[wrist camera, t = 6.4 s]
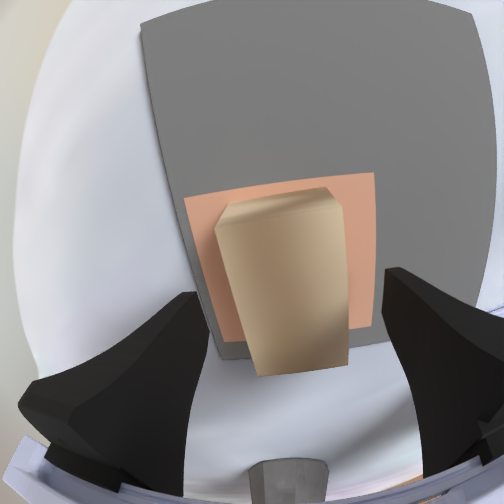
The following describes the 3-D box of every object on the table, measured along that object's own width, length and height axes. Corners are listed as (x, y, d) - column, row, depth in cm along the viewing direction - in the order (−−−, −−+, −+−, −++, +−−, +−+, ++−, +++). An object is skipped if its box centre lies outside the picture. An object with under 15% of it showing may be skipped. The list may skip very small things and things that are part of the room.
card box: (325, 186, 11) (342, 207, 8) (337, 322, 14) (348, 364, 11) (228, 203, 11) (214, 228, 9) (261, 333, 14) (257, 376, 12)
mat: (468, 316, 14) (471, 320, 13) (222, 355, 16) (221, 360, 15) (467, 15, 6) (472, 13, 6) (143, 26, 8) (139, 23, 8)
